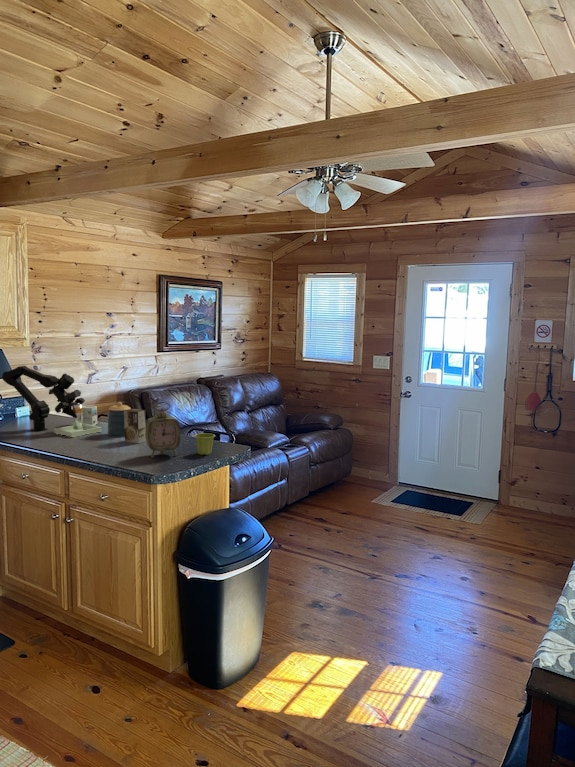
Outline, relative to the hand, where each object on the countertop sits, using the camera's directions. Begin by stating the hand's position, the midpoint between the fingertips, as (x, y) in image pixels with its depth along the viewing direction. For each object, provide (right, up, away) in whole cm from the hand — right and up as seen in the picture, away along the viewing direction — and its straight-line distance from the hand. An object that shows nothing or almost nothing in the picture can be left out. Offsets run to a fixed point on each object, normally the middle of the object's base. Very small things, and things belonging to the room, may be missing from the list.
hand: (79, 416), depth 308 cm
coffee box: (+34, -12, -16) cm, 39 cm away
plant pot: (+72, -15, -38) cm, 83 cm away
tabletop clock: (+54, -16, -43) cm, 70 cm away
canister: (+22, -10, -1) cm, 24 cm away
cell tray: (-1, -9, +2) cm, 9 cm away
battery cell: (-1, -6, +1) cm, 7 cm away
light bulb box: (-4, -6, +22) cm, 24 cm away
